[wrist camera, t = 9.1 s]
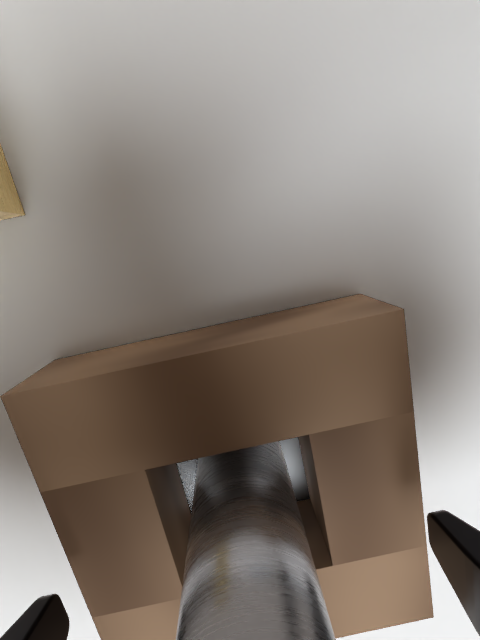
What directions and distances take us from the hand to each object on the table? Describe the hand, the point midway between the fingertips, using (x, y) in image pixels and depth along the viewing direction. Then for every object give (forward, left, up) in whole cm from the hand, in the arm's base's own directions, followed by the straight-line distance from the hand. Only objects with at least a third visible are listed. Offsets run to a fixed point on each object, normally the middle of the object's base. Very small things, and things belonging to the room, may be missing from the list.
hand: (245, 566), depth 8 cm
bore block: (0, 0, -4) cm, 4 cm away
